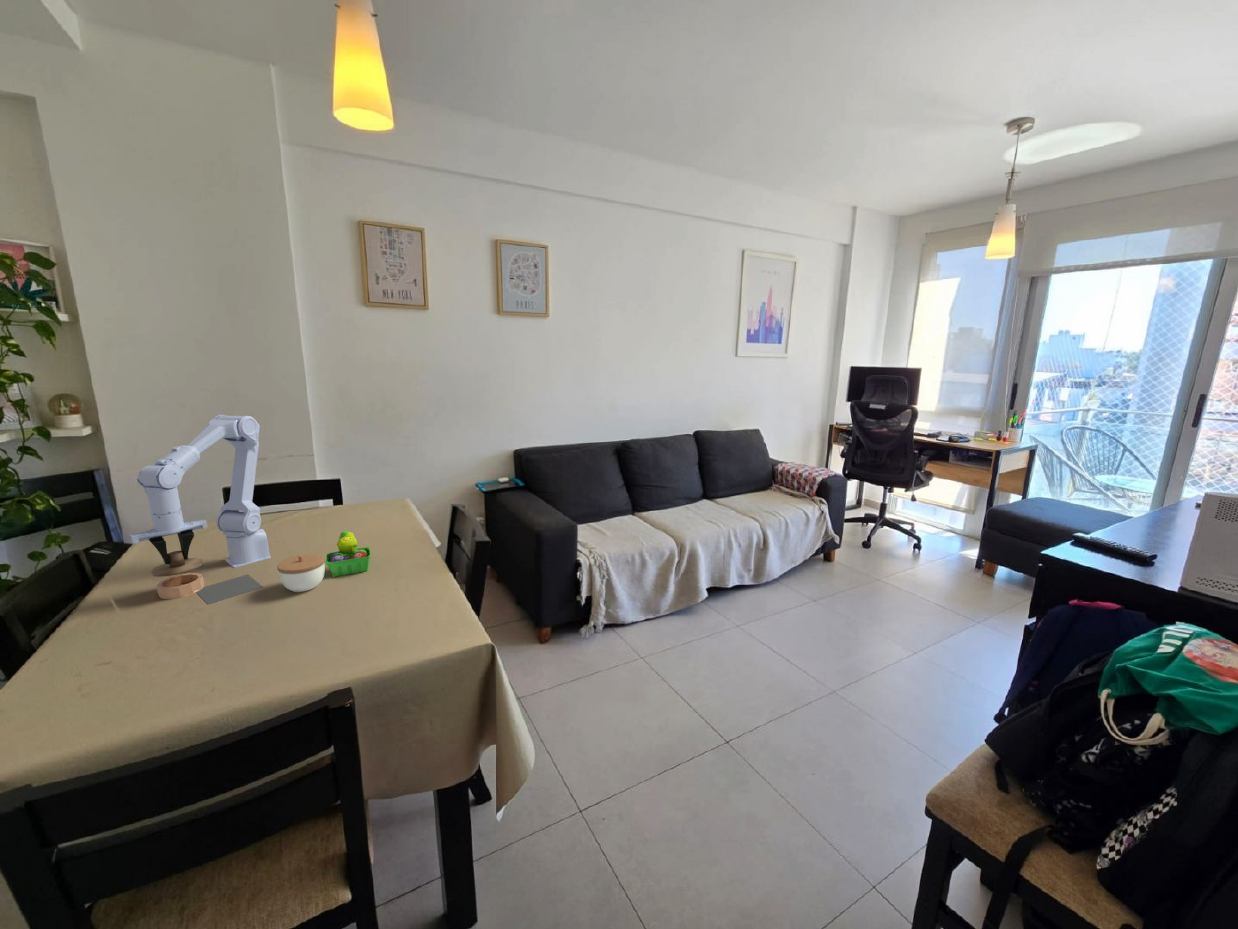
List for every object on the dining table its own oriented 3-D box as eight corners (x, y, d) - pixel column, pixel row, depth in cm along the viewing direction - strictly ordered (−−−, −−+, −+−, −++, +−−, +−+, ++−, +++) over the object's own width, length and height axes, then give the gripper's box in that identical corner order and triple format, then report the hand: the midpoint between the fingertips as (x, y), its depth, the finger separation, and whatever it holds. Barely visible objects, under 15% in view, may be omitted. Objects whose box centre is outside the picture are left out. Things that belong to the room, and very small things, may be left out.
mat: (247, 575, 140) (247, 574, 140) (263, 588, 133) (263, 587, 133) (194, 591, 131) (193, 589, 131) (208, 605, 124) (207, 604, 124)
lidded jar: (336, 584, 136) (332, 552, 134) (297, 601, 127) (293, 567, 125) (311, 576, 141) (307, 545, 139) (272, 592, 131) (266, 559, 129)
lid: (207, 558, 135) (204, 543, 134) (198, 571, 126) (194, 555, 126) (159, 565, 130) (155, 550, 129) (146, 579, 122) (142, 563, 121)
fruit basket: (327, 579, 139) (322, 542, 136) (328, 567, 146) (324, 531, 144) (372, 572, 144) (368, 536, 141) (371, 560, 152) (368, 526, 149)
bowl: (198, 580, 136) (196, 570, 136) (208, 590, 131) (206, 579, 130) (155, 592, 129) (153, 581, 129) (164, 603, 124) (161, 592, 123)
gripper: (197, 501, 133) (206, 548, 136) (123, 515, 122) (134, 566, 125) (206, 507, 129) (214, 555, 132) (130, 521, 118) (141, 573, 121)
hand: (176, 561), depth 128 cm, fingers closed on lid, 3 cm apart
